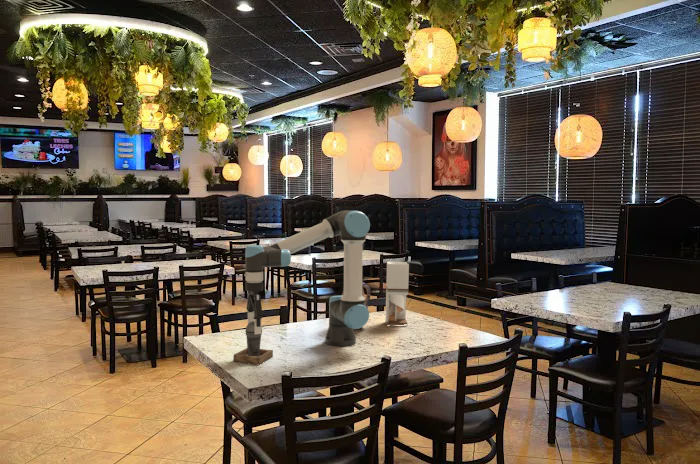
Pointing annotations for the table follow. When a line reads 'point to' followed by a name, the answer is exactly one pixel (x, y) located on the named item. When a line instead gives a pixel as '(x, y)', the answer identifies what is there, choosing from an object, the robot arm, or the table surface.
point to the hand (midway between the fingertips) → (254, 330)
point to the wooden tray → (244, 357)
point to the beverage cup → (253, 340)
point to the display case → (396, 292)
